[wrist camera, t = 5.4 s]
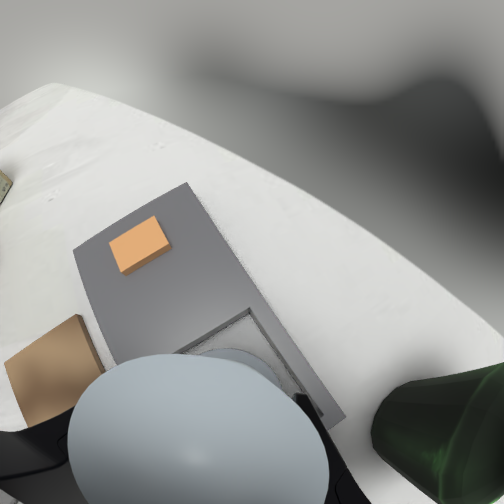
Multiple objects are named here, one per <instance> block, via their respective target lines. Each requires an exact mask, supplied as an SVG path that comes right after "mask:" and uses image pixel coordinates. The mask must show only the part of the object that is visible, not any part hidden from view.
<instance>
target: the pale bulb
mask: <svg viewBox="0 0 504 504" xmlns="http://www.w3.org/2000/svg"><path fill="white" fill-rule="evenodd" d="M68 454H69V460H70V464H71V468H72V472H73V475H74V477H75V480H76V482H77V485H78V487H79V488H80V490H81V492H82V494H83V496H84V497H85V499H86V500H87V502H88V503H89V504H324V501H325V498H326V494H327V491H328V483H329V466H328V459H327V455H326V451H325V447H324V445H323V443H322V440H321V438H320V436H319V433H318V432H317V430H316V428H315V427H314V425H313V424H312V422H311V420H310V419H309V418H308V416H307V415H306V414H305V413H304V412H303V411H302V409H301V408H300V407H299V406H298V405H297V404H296V403H295V402H294V401H293V400H292V399H291V398H289V397H288V396H287V395H286V394H285V393H284V392H283V390H282V387H281V384H280V382H279V379H278V378H277V376H276V374H275V373H274V372H273V371H272V369H271V368H270V367H269V366H268V365H267V364H266V363H265V362H263V361H262V360H261V359H259V358H258V357H256V356H254V355H252V354H250V353H247V352H244V351H241V350H236V349H215V350H211V351H207V352H205V353H202V354H200V355H186V354H157V355H151V356H145V357H140V358H137V359H133V360H130V361H126V362H124V363H122V364H120V365H117V366H115V367H113V368H111V369H110V370H108V371H107V372H105V373H104V374H102V375H100V376H99V377H98V378H97V379H96V380H95V381H94V382H93V383H91V384H90V385H89V386H88V388H87V389H86V390H85V391H84V393H83V394H82V395H81V397H80V399H79V400H78V402H77V404H76V406H75V408H74V411H73V413H72V416H71V419H70V424H69V429H68Z"/></svg>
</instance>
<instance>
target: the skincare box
mask: <svg viewBox="0 0 504 504" xmlns="http://www.w3.org/2000/svg"><path fill="white" fill-rule="evenodd" d="M11 184H12V181H11V180H10V179H9V178H8V177H7V176H6V175H5V174H4V173H3V172H2V171H1V170H0V203H1V202H2V200H3V198H4V196H5V195H6V193H7V191H8V189H9V188H10V186H11Z"/></svg>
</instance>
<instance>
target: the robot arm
mask: <svg viewBox="0 0 504 504" xmlns="http://www.w3.org/2000/svg"><path fill="white" fill-rule="evenodd" d="M292 400H293V401H294V402H295V403H296V404H297V405H298V406H299V407H300V408H301V409H302V411H303V412H304V413H305V414H306V415H307V416H308V418H309V419H310V420H311V422H312V424H313V425H314V427H315V428H316V430H317V432H318V433H319V436H320V438H321V440H322V443H323V445H324V447H325V451H326V455H327V459H328V466H329V483H328V491H327V494H326V498H325V501H324V504H371V502H370V501H369V500H368V498H367V497H366V496H365V494H364V493H363V492H362V490H361V489H360V488H359V486H358V485H357V483H356V481H355V480H354V478H353V476H352V475H351V473H350V471H349V469H348V468H347V466H346V464H345V462H344V461H343V459H342V457H341V455H340V453H339V452H338V450H337V448H336V446H335V444H334V443H333V441H332V439H331V437H330V435H329V433H328V432H327V430H326V428H325V426H324V424H323V423H322V421H321V419H320V417H319V415H318V413H317V412H316V410H315V408H314V406H313V404H312V402H311V400H310V399H309V397H308V395H307V394H305V393H295V394H294V396H293V399H292ZM75 406H76V405H75ZM75 406H73V407H71V408H70V409H68V410H66V411H64V412H63V413H61V414H59V415H57V416H55V417H53V418H50V419H48V420H46V421H44V422H41V423H39V424H36V425H34V426H31V427H29V428H26V429H24V430H21V431H15V432H6V431H0V504H89V503H88V502H87V500H86V499H85V497H84V496H83V494H82V492H81V490H80V488H79V487H78V485H77V482H76V480H75V477H74V475H73V472H72V468H71V464H70V460H69V454H68V429H69V424H70V419H71V416H72V413H73V411H74V408H75Z"/></svg>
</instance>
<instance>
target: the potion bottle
mask: <svg viewBox="0 0 504 504" xmlns="http://www.w3.org/2000/svg"><path fill="white" fill-rule="evenodd" d="M371 435H372V441H373V447H374V449H375V450H376V452H377V453H378V454H379V456H380V457H381V458H382V459H383V460H384V461H385V462H387V463H388V464H389V465H390V466H391V467H392V468H394V469H395V470H396V471H397V472H398V473H400V474H401V475H402V476H403V477H404V478H406V479H407V480H408V481H409V482H410V483H412V484H413V485H414V486H415V487H417V488H418V489H419V490H420V491H422V492H423V493H424V494H426V495H427V496H428V497H429V498H431V499H432V500H433V501H435V502H436V503H437V504H492V503H494V502H496V501H497V500H498V499H500V498H501V497H502V496H503V495H504V362H503V363H499V364H496V365H492V366H488V367H484V368H480V369H476V370H472V371H467V372H463V373H458V374H453V375H448V376H442V377H437V378H430V379H424V380H417V381H411V382H408V383H406V384H404V385H402V386H400V387H398V388H396V389H395V390H394V391H393V392H392V393H391V394H390V395H389V396H388V397H387V398H386V399H385V400H384V401H383V403H382V405H381V407H380V408H379V410H378V412H377V414H376V415H375V418H374V423H373V428H372V432H371Z"/></svg>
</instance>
